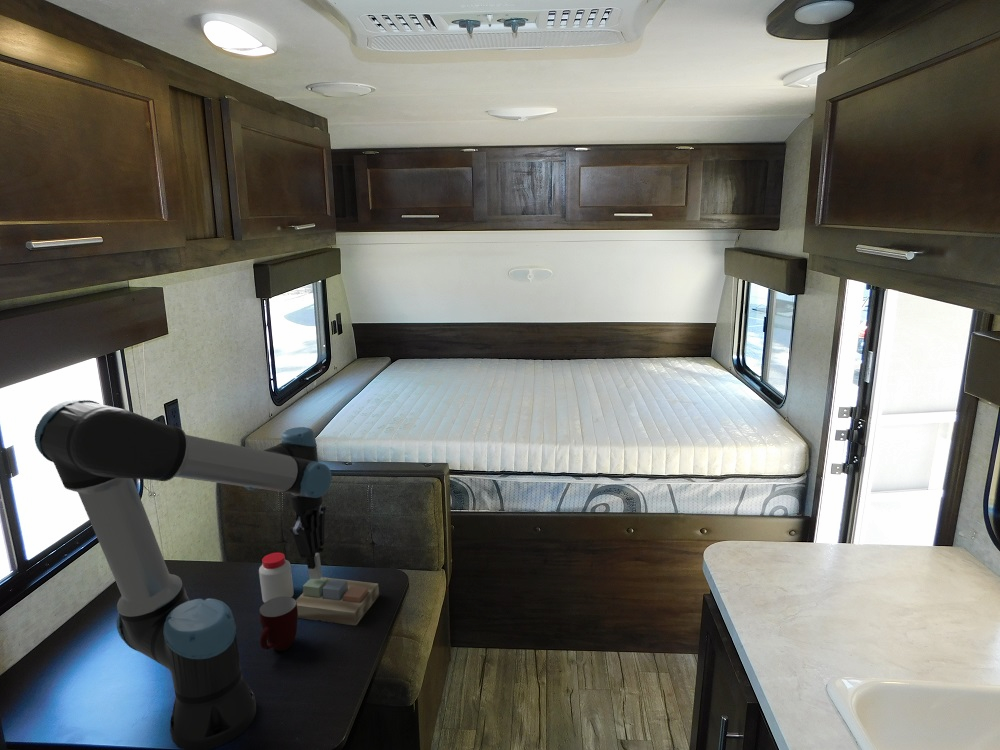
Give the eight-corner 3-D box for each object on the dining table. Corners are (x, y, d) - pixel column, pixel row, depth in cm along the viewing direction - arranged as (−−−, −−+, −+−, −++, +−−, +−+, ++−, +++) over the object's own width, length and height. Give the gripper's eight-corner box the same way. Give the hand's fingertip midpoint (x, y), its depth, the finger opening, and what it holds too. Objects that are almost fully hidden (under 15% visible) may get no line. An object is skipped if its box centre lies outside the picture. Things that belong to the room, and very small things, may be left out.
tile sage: (319, 598, 157) (318, 587, 157) (303, 596, 158) (302, 586, 158) (328, 589, 161) (327, 578, 161) (313, 587, 163) (312, 576, 162)
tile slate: (339, 601, 156) (338, 590, 155) (323, 599, 157) (322, 588, 156) (348, 591, 160) (347, 580, 159) (332, 589, 161) (331, 578, 160)
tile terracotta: (360, 608, 155) (359, 597, 154) (344, 606, 156) (343, 595, 155) (368, 598, 159) (367, 587, 158) (352, 596, 160) (351, 586, 159)
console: (355, 625, 151) (354, 612, 150) (292, 617, 155) (291, 604, 154) (379, 595, 163) (378, 583, 162) (320, 588, 167) (318, 576, 167)
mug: (285, 665, 138) (280, 625, 135) (251, 663, 139) (245, 622, 137) (307, 635, 148) (302, 597, 146) (275, 633, 149) (270, 595, 147)
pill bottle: (261, 592, 166) (256, 554, 164) (291, 585, 170) (287, 547, 167) (263, 607, 160) (258, 568, 157) (295, 599, 163) (291, 560, 160)
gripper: (304, 502, 147) (315, 593, 152) (332, 480, 159) (341, 565, 164) (276, 500, 149) (288, 590, 154) (305, 478, 161) (315, 562, 166)
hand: (315, 577), depth 159 cm, fingers closed
